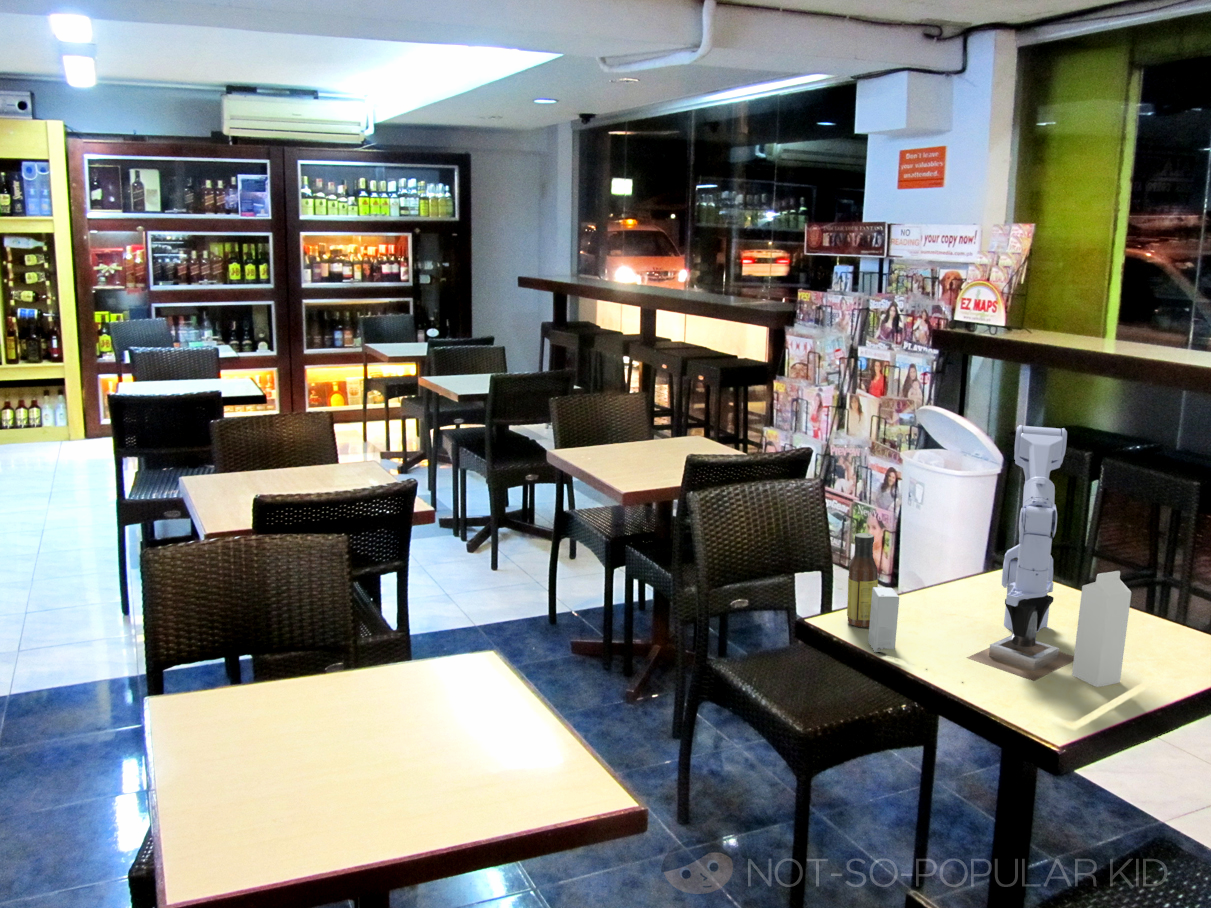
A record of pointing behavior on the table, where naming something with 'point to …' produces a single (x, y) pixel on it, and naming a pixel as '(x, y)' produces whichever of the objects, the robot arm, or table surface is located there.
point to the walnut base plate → (1020, 671)
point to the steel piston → (1030, 635)
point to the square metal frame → (1041, 650)
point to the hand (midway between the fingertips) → (1025, 632)
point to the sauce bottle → (861, 581)
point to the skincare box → (883, 618)
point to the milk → (1102, 630)
